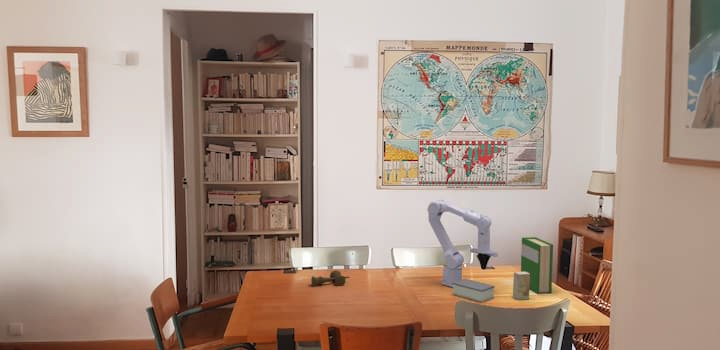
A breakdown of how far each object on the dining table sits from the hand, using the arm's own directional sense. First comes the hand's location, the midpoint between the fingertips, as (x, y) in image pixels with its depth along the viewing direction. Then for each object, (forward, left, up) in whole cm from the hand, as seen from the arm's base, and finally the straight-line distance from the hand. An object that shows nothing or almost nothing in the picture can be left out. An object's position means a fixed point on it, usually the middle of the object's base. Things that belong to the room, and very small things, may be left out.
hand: (483, 269), depth 264 cm
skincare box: (+20, +2, -11) cm, 22 cm away
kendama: (-58, -49, -11) cm, 77 cm away
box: (+3, -12, -10) cm, 16 cm away
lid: (+3, -12, -5) cm, 14 cm away
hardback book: (+16, +21, -11) cm, 29 cm away
